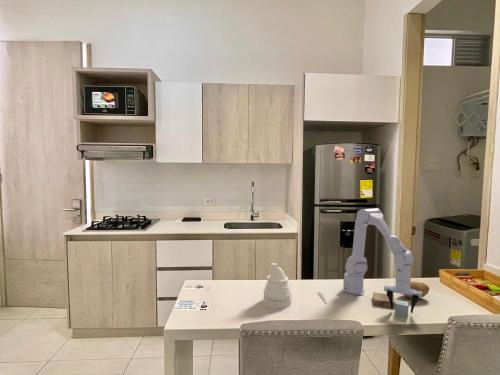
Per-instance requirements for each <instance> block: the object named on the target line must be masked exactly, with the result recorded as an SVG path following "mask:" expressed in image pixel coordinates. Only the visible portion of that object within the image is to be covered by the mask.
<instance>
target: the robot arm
mask: <svg viewBox="0 0 500 375" xmlns="http://www.w3.org/2000/svg"><path fill="white" fill-rule="evenodd" d="M354 222H355V223H354V232H353V233H354V234H353V242H352V252H351V255H350V256H349V257H348V258H347V260H346V263H345V268H344V269H345V271H346V272H345V273H344V274H343V286H342V288H343V289H342V293H348V294H353V295H358V296H363V295H364V293H365V292H366V291H365V290H366V289H364V280H365V279H364V276H365V275H366V273H367V271H368V263H367V262H368V260H367V258H366V257H365V246H366V239H367V238H366V237H367V236H366V235H367V227H368V226H369V225H372V226H375V227H376V228H377V230H378V231H379V232H380V234H382V236H383V237H384V239H385V244H386V246H387V247H388V249H389V251H390V252H391V253H392V255H393V256H392V258H393V261H394V264H395V286H392V285H384V287H383V291H384V292H386V293H385V294H387V297H388V299H389V301H390V305H391V307H390V309H391V310H393V295H394V293H395V294H400V295H402V294H406V295H412V299H411V305H410V306H411V307H410V314H413V311H414V309H415V306H416V305H417V303H418V301H419V299H421V298H423V297H422V292H420V291H416V290H412V289H410V282H411V279H412V278H411V277H412V264H414V263H415V255H414V253H413V251H411V250H409V249H408V248H406V247H405V246H404V244H403V243H402V241H401V239H400V237H398V236H396V235H394V234H393V232H392V231H391V229H390V228H389V225H388V224H387V223H386V221H385V219H384V213H382V211H381V210H380V208H378V207H376V208H362V209H359V210H357V213H356V218H355V221H354ZM419 297H420V298H419Z"/></svg>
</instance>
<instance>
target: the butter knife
mask: <svg viewBox="0 0 500 375" xmlns="http://www.w3.org/2000/svg"><path fill="white" fill-rule="evenodd" d="M317 294H318V296H319V298H320V299H321V300H322V301H323V303H324V304H325V305H327V304H328V302H327V301H326V299H325V296H324V294H323V293H322V292H321V291H320V292H317Z"/></svg>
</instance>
